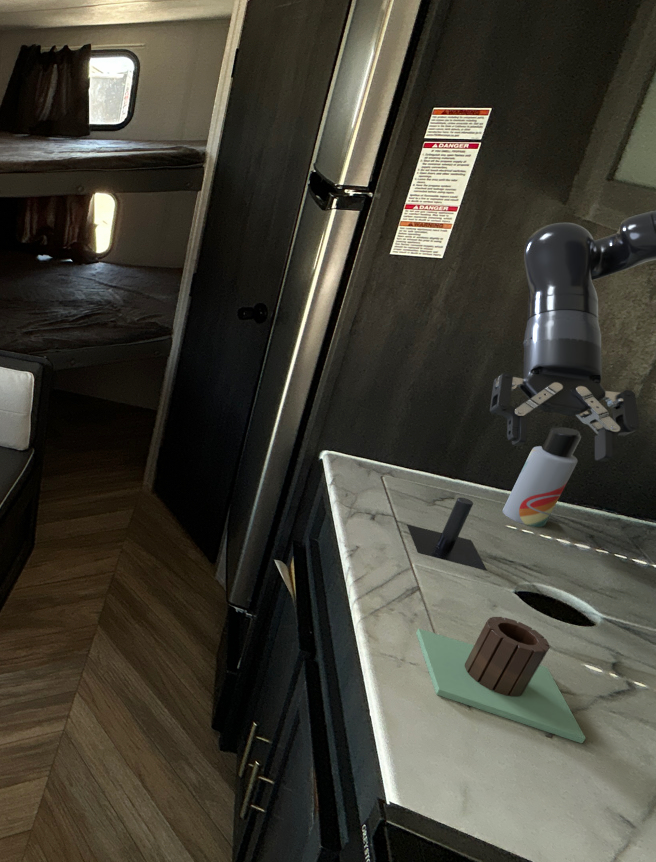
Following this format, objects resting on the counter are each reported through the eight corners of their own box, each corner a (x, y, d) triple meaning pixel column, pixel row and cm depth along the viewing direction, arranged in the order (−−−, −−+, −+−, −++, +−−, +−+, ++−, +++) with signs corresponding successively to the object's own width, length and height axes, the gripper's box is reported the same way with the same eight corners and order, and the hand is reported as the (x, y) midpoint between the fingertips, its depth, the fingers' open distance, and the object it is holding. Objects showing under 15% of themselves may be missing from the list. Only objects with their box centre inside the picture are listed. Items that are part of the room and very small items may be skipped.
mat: (544, 672, 87) (547, 667, 87) (582, 743, 77) (586, 738, 77) (415, 633, 93) (418, 628, 93) (436, 694, 84) (438, 689, 83)
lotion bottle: (547, 536, 114) (597, 440, 106) (505, 527, 116) (551, 432, 109) (535, 520, 118) (582, 426, 111) (495, 511, 121) (538, 419, 113)
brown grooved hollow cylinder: (514, 671, 86) (539, 627, 83) (530, 703, 81) (557, 658, 78) (459, 654, 89) (481, 610, 86) (471, 684, 84) (495, 640, 81)
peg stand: (467, 546, 111) (492, 494, 107) (483, 577, 104) (510, 523, 100) (403, 530, 115) (424, 480, 111) (414, 559, 108) (437, 506, 104)
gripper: (510, 328, 92) (506, 431, 87) (650, 346, 85) (654, 457, 81) (484, 350, 98) (479, 447, 93) (612, 368, 92) (614, 472, 87)
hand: (560, 451), depth 87 cm, fingers open, 8 cm apart
